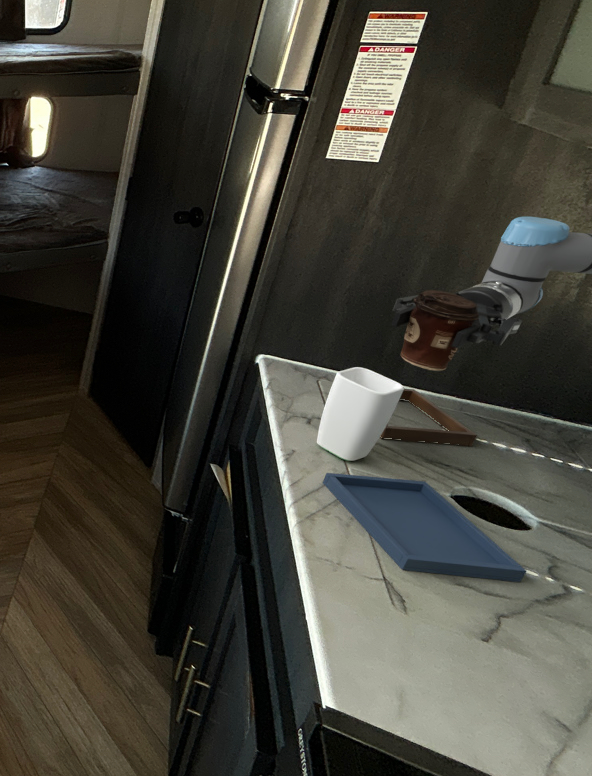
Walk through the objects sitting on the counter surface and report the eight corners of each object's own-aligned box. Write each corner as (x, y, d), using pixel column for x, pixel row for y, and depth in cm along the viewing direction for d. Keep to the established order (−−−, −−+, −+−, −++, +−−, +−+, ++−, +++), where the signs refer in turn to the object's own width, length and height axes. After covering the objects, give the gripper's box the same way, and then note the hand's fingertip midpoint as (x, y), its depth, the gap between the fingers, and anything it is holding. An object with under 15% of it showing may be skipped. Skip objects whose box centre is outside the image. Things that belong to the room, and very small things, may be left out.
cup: (331, 434, 116) (359, 365, 110) (377, 459, 109) (409, 387, 104) (304, 443, 113) (332, 372, 108) (349, 468, 107) (381, 395, 101)
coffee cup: (386, 360, 116) (412, 296, 111) (393, 345, 121) (417, 284, 116) (452, 379, 110) (482, 312, 105) (456, 362, 115) (485, 298, 110)
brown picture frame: (471, 446, 113) (477, 435, 112) (381, 439, 115) (386, 428, 114) (409, 399, 126) (414, 389, 125) (329, 393, 128) (333, 383, 127)
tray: (520, 582, 86) (527, 571, 85) (402, 570, 88) (407, 558, 87) (420, 491, 102) (425, 481, 101) (322, 482, 104) (326, 472, 103)
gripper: (422, 268, 127) (363, 288, 118) (571, 309, 110) (516, 336, 100) (408, 301, 130) (349, 324, 120) (552, 346, 113) (496, 376, 103)
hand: (425, 329), depth 110 cm, fingers closed on coffee cup, 8 cm apart
